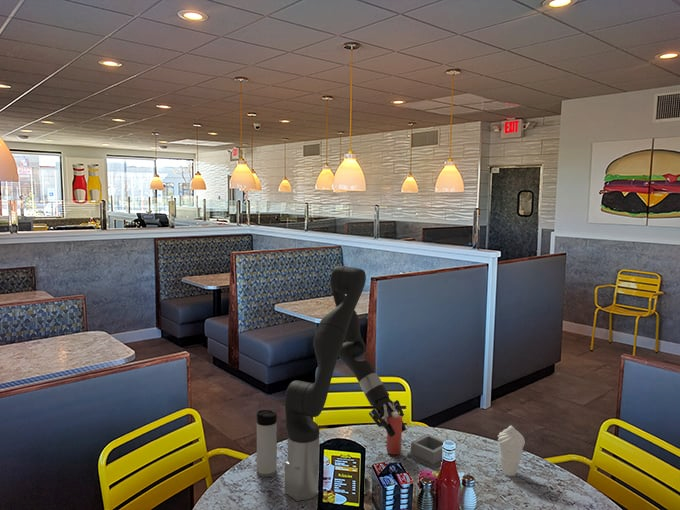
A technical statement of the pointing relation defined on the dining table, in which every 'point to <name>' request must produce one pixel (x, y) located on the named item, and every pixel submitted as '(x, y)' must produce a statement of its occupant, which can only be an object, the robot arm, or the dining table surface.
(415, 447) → the box
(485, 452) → the dining table surface
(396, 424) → the squeeze bottle
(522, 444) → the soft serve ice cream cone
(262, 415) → the travel mug
